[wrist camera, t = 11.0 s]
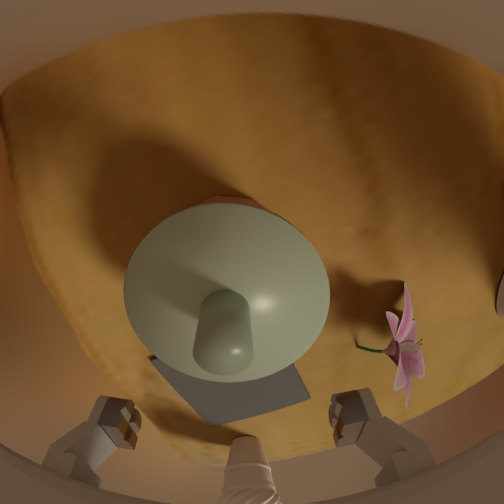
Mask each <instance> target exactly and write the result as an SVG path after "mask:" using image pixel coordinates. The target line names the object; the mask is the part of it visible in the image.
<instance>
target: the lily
mask: <svg viewBox="0 0 504 504" xmlns="http://www.w3.org/2000/svg"><path fill="white" fill-rule="evenodd" d="M404 291H405V304H404V312H403V316H402V320H401V323H400V327H399V322H400V321H399V318H398V317H397V316H396V315H395V314H393V313H391V312H389V311H386V316H387V319H388V322H389V324H390V327H391V330H392V333H393V336H394V337H393V339H392V341H391V342H390V344H389V346H388V347H387V348H386V349H385V350H374V349H369V348H365V347H362V346H359V345H357V348H360V349H363V350H366V351H370V352H376V353H385V354H387V355H388V356H389V357H390V358H391V359H392V360H393V361H394V363H395V364H396V365H397V367H398V369H397V373H396V377H395V382H394V389H393V390H394V391H398V390H400V389H401V388H403V387H404V388H405V400H406V408H407V406H408V402H409V398H410V392H411V376H412V377H414V378H419V379H423V378H424V376H425V368H424V360H423V356H422V353H421V350H420V348H419V347H418V346H419V345H422V343H421V344H419V345H416V344H418V343H419V342H420V341H421V340H422V339H421V340H420V341H419V342H418V343H416V336H417V326H416V321H415V320H413V309H412V303H411V298H410V295H409V291H408V288H407V285H406V284H405V282H404ZM398 327H399V330H398V332H397V335H396V337H395V334H396V331H397V329H398Z"/></svg>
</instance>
